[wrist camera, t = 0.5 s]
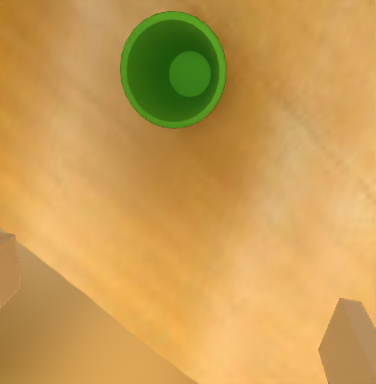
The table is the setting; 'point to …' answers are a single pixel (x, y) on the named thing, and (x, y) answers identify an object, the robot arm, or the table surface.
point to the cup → (173, 69)
